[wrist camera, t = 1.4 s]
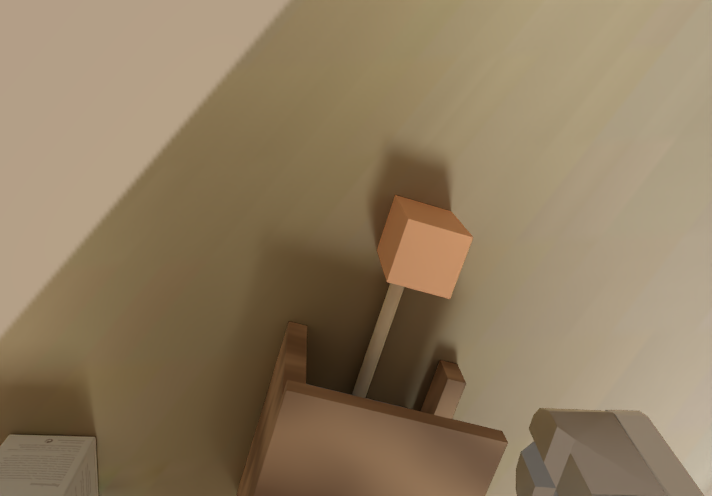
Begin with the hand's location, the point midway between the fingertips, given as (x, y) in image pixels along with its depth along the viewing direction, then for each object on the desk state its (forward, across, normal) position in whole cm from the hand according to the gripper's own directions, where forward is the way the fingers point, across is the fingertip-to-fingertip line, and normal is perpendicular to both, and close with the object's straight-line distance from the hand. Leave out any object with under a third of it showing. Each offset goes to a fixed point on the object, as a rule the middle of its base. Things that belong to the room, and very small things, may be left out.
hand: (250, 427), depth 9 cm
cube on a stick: (+26, +7, -18) cm, 32 cm away
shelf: (+25, +6, -23) cm, 34 cm away
